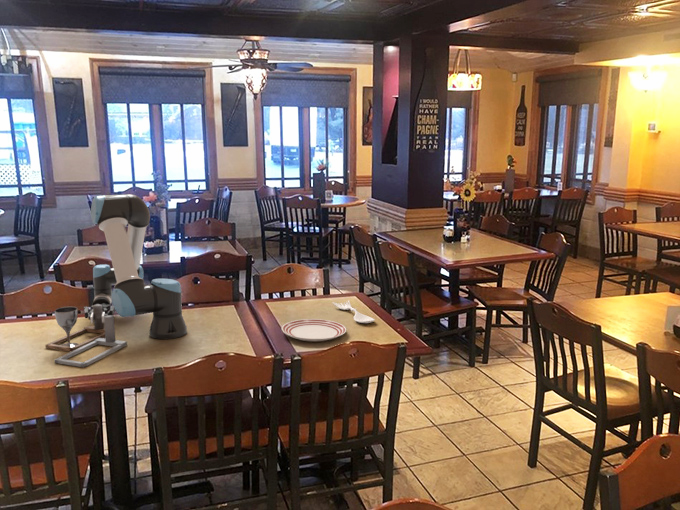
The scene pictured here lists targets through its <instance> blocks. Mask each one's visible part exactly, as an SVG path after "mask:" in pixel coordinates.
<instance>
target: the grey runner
mask: <svg viewBox="0 0 680 510" xmlns="http://www.w3.org/2000/svg"><path fill="white" fill-rule="evenodd" d="M103 325H104V328H105V337H104V338H98V339H96V340H94V341H93V342H91V343H89V344H87V345H84V346H82V347H80V348H78V349H76V350H74V351H72V352H71V351H68V353H66V354H63V355H61V356H59V357H57V358H54V360H53V361H54V363H55V364H60V365H61V364H62V365H66V366H71V367H72V366H73V367H80V368H85V367H88V366H90V365H92V364H93V363H95V362H98V361H99V360H101V359H103V358H106V357H107V356H109V355H110V354H112V353H115V352H116V351H118V350H120V349H122V348H124V347H126V346H128V341H126V340H125V341H124V340H118V339H116V332H115V331H116V329H115V316H114V315H113V316H112V315H108V316H105V317H104V323H103ZM97 345H100V346H106V347H107V346H108V347H110V348H108V349H106V350H104V351H103V352H100V353H98V354H97V355H95V356H93V357H91V358H88V359H87V360H85V361H84V362H83V361H77V360H73V359H72V360H71V358H72V357H74V356H76V355H78V354H81V353H83V352H84V351H87V350H89V349H91V348H93V347H95V346H97Z"/></svg>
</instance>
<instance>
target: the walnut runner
mask: <svg viewBox="0 0 680 510" xmlns="http://www.w3.org/2000/svg"><path fill="white" fill-rule="evenodd" d="M102 313H103V311H102V305H101V304H96V305H93V315H94V321H93V325H87V326H85V327H83V328H82V329H79V330H77V331H73V332H72V333H70V340H71V339H73V338H75V337H77V336H80V335H82V334H84V333H85V334H86V332H89V333H94V334H95V333H97V334H98V335H96V336H94V337H91V338H89V339H87V340H85V341H83V342H80V343H78V345H76V346H74V347H68V346H62V344H63V343H65V342H66V341H68V340H67V335H65V336H62V337H60V338H58V339H56V340H53V341H51V342H49V343H47V344H45V349H46V348H47V349H52V350H59V351H65V352H72V351H74V350H76V349H78V348H80V347H82V346H84V345H87V344H89V343H91V342H93V341H94V340H96V339H98V338H105V325H104V323H102Z"/></svg>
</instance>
